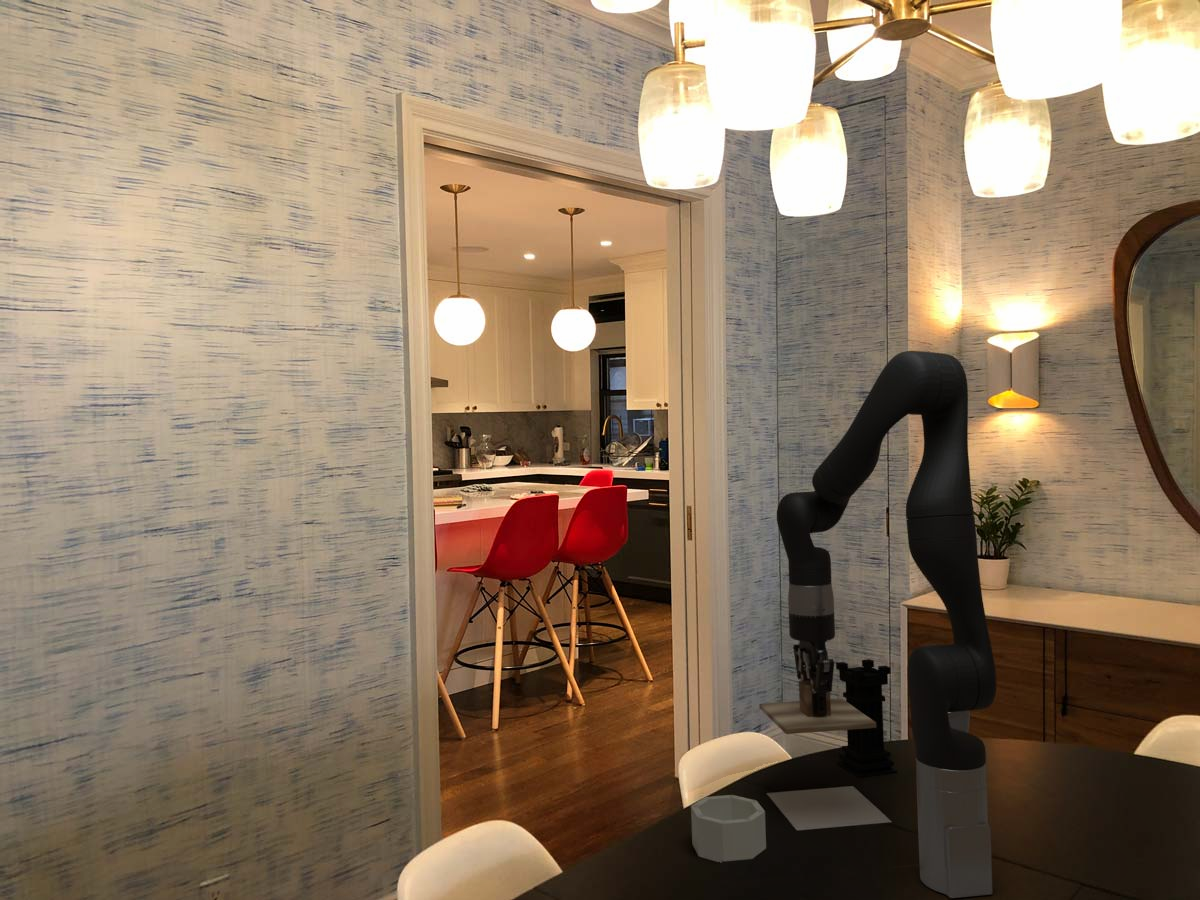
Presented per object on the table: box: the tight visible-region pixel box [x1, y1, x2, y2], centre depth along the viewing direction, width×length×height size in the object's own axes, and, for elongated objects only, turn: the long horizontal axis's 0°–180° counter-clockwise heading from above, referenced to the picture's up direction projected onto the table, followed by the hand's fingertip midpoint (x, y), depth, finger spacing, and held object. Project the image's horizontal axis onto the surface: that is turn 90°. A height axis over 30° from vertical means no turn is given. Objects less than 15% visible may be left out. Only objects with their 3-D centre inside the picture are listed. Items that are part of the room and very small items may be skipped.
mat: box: [766, 785, 892, 831], centre depth 155 cm, size 16×16×1 cm
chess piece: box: [835, 658, 898, 779], centre depth 172 cm, size 8×8×20 cm
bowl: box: [690, 794, 767, 864], centre depth 141 cm, size 11×11×6 cm
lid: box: [758, 680, 876, 735], centre depth 153 cm, size 15×15×6 cm
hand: (814, 711), depth 153 cm, fingers closed on lid, 4 cm apart
